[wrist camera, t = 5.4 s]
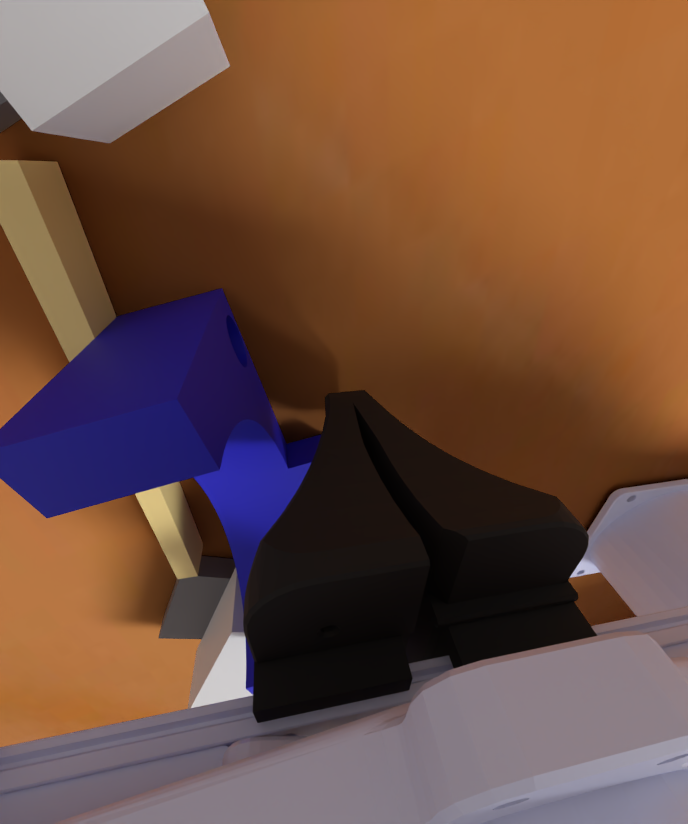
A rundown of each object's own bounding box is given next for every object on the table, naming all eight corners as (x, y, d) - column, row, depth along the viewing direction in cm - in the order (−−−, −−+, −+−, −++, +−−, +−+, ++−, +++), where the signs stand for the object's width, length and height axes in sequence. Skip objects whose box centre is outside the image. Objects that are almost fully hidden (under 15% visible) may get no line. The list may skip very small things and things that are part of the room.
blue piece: (353, 524, 17) (387, 665, 12) (264, 549, 17) (261, 702, 12) (273, 272, 10) (277, 371, 5) (119, 314, 10) (-27, 454, 5)
